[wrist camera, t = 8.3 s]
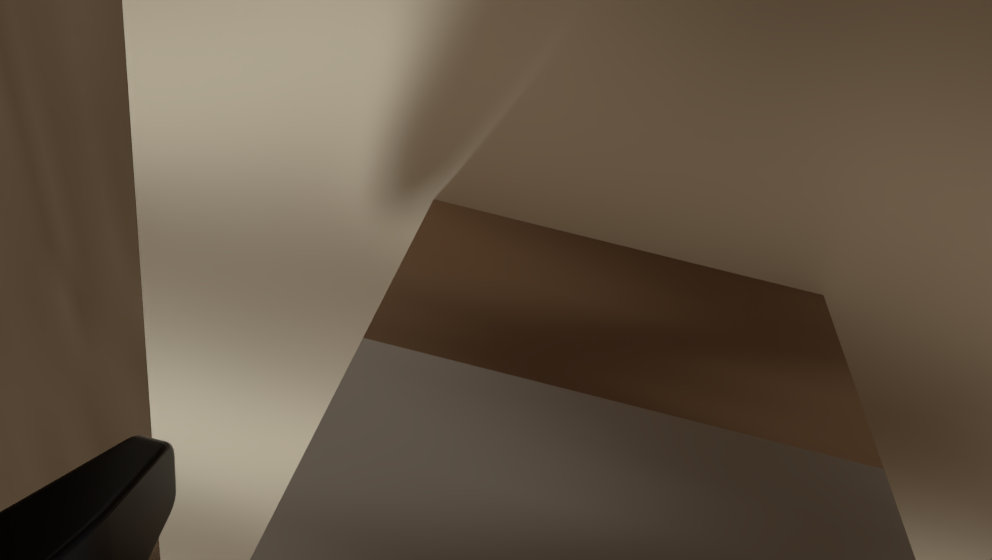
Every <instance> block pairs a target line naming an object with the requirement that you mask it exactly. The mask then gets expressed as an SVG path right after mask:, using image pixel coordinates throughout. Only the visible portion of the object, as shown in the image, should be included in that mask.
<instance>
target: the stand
mask: <svg viewBox="0 0 992 560" xmlns="http://www.w3.org/2000/svg"><path fill="white" fill-rule="evenodd" d="M122 3H123V18H124V33H125V47H126V62H127V77H128V91H129V106H130V121H131V135H132V150H133V165H134V179H135V194H136V209H137V223H138V238H139V253H140V267H141V282H142V297H143V311H144V326H145V341H146V355H147V370H148V385H149V399H150V414H151V429H152V438H154V439H158V440H162V441H166V442H168V443H170V444H171V445H172V447H173V448H174V454H175V476H176V497H175V502H174V505H173V508H172V511H171V513H170V516H169V518H168V520H167V522H166V524H165V526H164V528H163V530H162V532H161V534H160V536H159V546H160V560H250V559H251V557H252V555H253V553H254V551H255V549H256V547H257V545H258V543H259V541H260V539H261V537H262V535H263V533H264V531H265V529H266V527H267V525H268V523H269V521H270V519H271V517H272V516H273V514H274V512H275V510H276V508H277V506H278V504H279V502H280V500H281V498H282V496H283V494H284V492H285V490H286V488H287V486H288V484H289V482H290V480H291V478H292V476H293V474H294V472H295V470H296V468H297V466H298V464H299V462H300V461H301V459H302V457H303V455H304V453H305V451H306V449H307V447H308V445H309V443H310V441H311V439H312V437H313V435H314V433H315V431H316V429H317V427H318V425H319V423H320V421H321V419H322V417H323V415H324V413H325V411H326V409H327V407H328V406H329V404H330V402H331V400H332V398H333V396H334V394H335V392H336V390H337V388H338V386H339V384H340V382H341V380H342V378H343V376H344V374H345V372H346V370H347V368H348V366H349V364H350V362H351V360H352V358H353V356H354V354H355V353H356V351H357V349H358V347H359V345H360V343H361V341H362V339H363V337H364V335H365V333H366V331H367V329H368V327H369V325H370V323H371V321H372V319H373V317H374V315H375V313H376V311H377V309H378V307H379V305H380V303H381V301H382V299H383V298H384V296H385V294H386V292H387V290H388V288H389V286H390V284H391V282H392V280H393V278H394V276H395V274H396V272H397V270H398V268H399V266H400V264H401V262H402V260H403V258H404V256H405V254H406V252H407V250H408V248H409V246H410V244H411V243H412V241H413V239H414V237H415V235H416V233H417V231H418V229H419V227H420V225H421V223H422V221H423V219H424V217H425V215H426V213H427V211H428V209H429V207H430V205H431V203H432V201H433V199H434V200H438V201H442V202H446V203H451V204H455V205H459V206H463V207H467V208H471V209H475V210H479V211H483V212H487V213H491V214H495V215H499V216H503V217H507V218H512V219H516V220H520V221H524V222H528V223H532V224H536V225H540V226H544V227H548V228H552V229H556V230H560V231H564V232H569V233H573V234H577V235H581V236H585V237H589V238H593V239H597V240H601V241H605V242H609V243H613V244H617V245H621V246H625V247H630V248H634V249H638V250H642V251H646V252H650V253H654V254H658V255H662V256H666V257H670V258H674V259H678V260H682V261H687V262H691V263H695V264H699V265H703V266H707V267H711V268H715V269H719V270H723V271H727V272H731V273H735V274H739V275H743V276H748V277H752V278H756V279H760V280H764V281H768V282H772V283H776V284H780V285H784V286H788V287H792V288H796V289H800V290H804V291H809V292H813V293H817V294H821V295H824V298H825V301H826V304H827V307H828V310H829V313H830V316H831V318H832V321H833V324H834V327H835V330H836V333H837V336H838V338H839V341H840V344H841V347H842V350H843V353H844V356H845V359H846V361H847V364H848V367H849V370H850V373H851V376H852V379H853V381H854V384H855V387H856V390H857V393H858V396H859V399H860V402H861V404H862V407H863V410H864V413H865V416H866V419H867V422H868V424H869V427H870V430H871V433H872V436H873V439H874V442H875V445H876V447H877V450H878V453H879V456H880V459H881V462H882V465H883V467H884V470H885V473H886V476H887V479H888V482H889V485H890V487H891V490H892V493H893V496H894V499H895V502H896V505H897V508H898V510H899V513H900V516H901V519H902V522H903V525H904V528H905V530H906V533H907V536H908V539H909V542H910V545H911V548H912V551H913V553H914V556H915V559H916V560H991V559H992V0H122Z"/></svg>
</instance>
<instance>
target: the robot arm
mask: <svg viewBox="0 0 992 560" xmlns="http://www.w3.org/2000/svg"><path fill="white" fill-rule="evenodd" d="M175 497H176V476H175V454H174V448H173V447H172V445H171V444H170V443H168V442H166V441H162V440H158V439H154V438H151V437H147V436H142V435H137V436H133V437H130V438H128V439H126V440H125V441H123V442H121V443H119V444H118V445H116V446H114V447H112V448H111V449H109V450H107V451H105V452H104V453H102V454H100V455H99V456H97V457H95V458H93V459H92V460H90V461H88V462H86V463H85V464H83V465H81V466H79V467H78V468H76V469H74V470H72V471H71V472H69V473H67V474H66V475H64V476H62V477H60V478H59V479H57V480H55V481H53V482H52V483H50V484H48V485H46V486H45V487H43V488H41V489H39V490H38V491H36V492H34V493H32V494H31V495H29V496H27V497H26V498H24V499H22V500H20V501H19V502H17V503H15V504H13V505H12V506H10V507H8V508H6V509H5V510H3V511H1V512H0V560H148V559H149V557H150V555H151V553H152V551H153V549H154V547H155V544H156V542H157V540H158V538H159V536H160V534H161V532H162V530H163V528H164V526H165V524H166V522H167V520H168V518H169V516H170V513H171V511H172V508H173V505H174V502H175Z"/></svg>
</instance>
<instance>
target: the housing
mask: <svg viewBox="0 0 992 560" xmlns="http://www.w3.org/2000/svg"><path fill="white" fill-rule="evenodd" d="M250 560H916V559H915V556H914V553H913V551H912V548H911V545H910V542H909V539H908V536H907V533H906V530H905V528H904V525H903V522H902V519H901V516H900V513H899V510H898V508H897V505H896V502H895V499H894V496H893V493H892V490H891V487H890V485H889V482H888V479H887V476H886V473H885V470H884V467H883V465H882V462H881V459H880V456H879V453H878V450H877V447H876V445H875V442H874V439H873V436H872V433H871V430H870V427H869V424H868V422H867V419H866V416H865V413H864V410H863V407H862V404H861V402H860V399H859V396H858V393H857V390H856V387H855V384H854V381H853V379H852V376H851V373H850V370H849V367H848V364H847V361H846V359H845V356H844V353H843V350H842V347H841V344H840V341H839V338H838V336H837V333H836V330H835V327H834V324H833V321H832V318H831V316H830V313H829V310H828V307H827V304H826V301H825V298H824V295H821V294H817V293H813V292H809V291H804V290H800V289H796V288H792V287H788V286H784V285H780V284H776V283H772V282H768V281H764V280H760V279H756V278H752V277H748V276H743V275H739V274H735V273H731V272H727V271H723V270H719V269H715V268H711V267H707V266H703V265H699V264H695V263H691V262H687V261H682V260H678V259H674V258H670V257H666V256H662V255H658V254H654V253H650V252H646V251H642V250H638V249H634V248H630V247H625V246H621V245H617V244H613V243H609V242H605V241H601V240H597V239H593V238H589V237H585V236H581V235H577V234H573V233H569V232H564V231H560V230H556V229H552V228H548V227H544V226H540V225H536V224H532V223H528V222H524V221H520V220H516V219H512V218H507V217H503V216H499V215H495V214H491V213H487V212H483V211H479V210H475V209H471V208H467V207H463V206H459V205H455V204H451V203H446V202H442V201H438V200H434V199H433V201H432V203H431V205H430V207H429V209H428V211H427V213H426V215H425V217H424V219H423V221H422V223H421V225H420V227H419V229H418V231H417V233H416V235H415V237H414V239H413V241H412V243H411V244H410V246H409V248H408V250H407V252H406V254H405V256H404V258H403V260H402V262H401V264H400V266H399V268H398V270H397V272H396V274H395V276H394V278H393V280H392V282H391V284H390V286H389V288H388V290H387V292H386V294H385V296H384V298H383V299H382V301H381V303H380V305H379V307H378V309H377V311H376V313H375V315H374V317H373V319H372V321H371V323H370V325H369V327H368V329H367V331H366V333H365V335H364V337H363V339H362V341H361V343H360V345H359V347H358V349H357V351H356V353H355V354H354V356H353V358H352V360H351V362H350V364H349V366H348V368H347V370H346V372H345V374H344V376H343V378H342V380H341V382H340V384H339V386H338V388H337V390H336V392H335V394H334V396H333V398H332V400H331V402H330V404H329V406H328V407H327V409H326V411H325V413H324V415H323V417H322V419H321V421H320V423H319V425H318V427H317V429H316V431H315V433H314V435H313V437H312V439H311V441H310V443H309V445H308V447H307V449H306V451H305V453H304V455H303V457H302V459H301V461H300V462H299V464H298V466H297V468H296V470H295V472H294V474H293V476H292V478H291V480H290V482H289V484H288V486H287V488H286V490H285V492H284V494H283V496H282V498H281V500H280V502H279V504H278V506H277V508H276V510H275V512H274V514H273V516H272V517H271V519H270V521H269V523H268V525H267V527H266V529H265V531H264V533H263V535H262V537H261V539H260V541H259V543H258V545H257V547H256V549H255V551H254V553H253V555H252V557H251V559H250Z"/></svg>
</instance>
